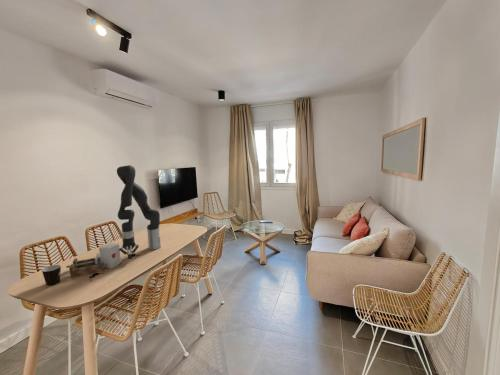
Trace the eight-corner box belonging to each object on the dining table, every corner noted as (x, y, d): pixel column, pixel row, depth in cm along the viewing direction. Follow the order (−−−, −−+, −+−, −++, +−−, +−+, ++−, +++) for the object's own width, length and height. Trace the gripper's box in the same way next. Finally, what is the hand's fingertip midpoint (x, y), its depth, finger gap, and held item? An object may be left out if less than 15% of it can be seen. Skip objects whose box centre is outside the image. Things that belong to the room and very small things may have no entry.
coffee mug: (51, 279, 139) (49, 264, 137) (66, 279, 139) (64, 264, 138) (35, 290, 127) (33, 274, 126) (51, 289, 128) (49, 273, 127)
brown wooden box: (106, 262, 162) (106, 253, 161) (104, 271, 149) (103, 261, 148) (75, 268, 153) (74, 258, 153) (70, 278, 140) (69, 267, 139)
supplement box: (111, 268, 152) (109, 248, 150) (100, 267, 153) (98, 247, 151) (121, 262, 161) (119, 243, 159) (110, 261, 162) (108, 242, 160)
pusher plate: (100, 263, 158) (99, 253, 157) (98, 270, 149) (97, 259, 148) (69, 269, 150) (67, 258, 149) (65, 277, 141) (63, 265, 140)
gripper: (138, 233, 167) (139, 254, 169) (117, 236, 160) (120, 258, 163) (138, 236, 160) (140, 258, 163) (117, 239, 154) (119, 263, 156)
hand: (130, 258), depth 163 cm, fingers closed
